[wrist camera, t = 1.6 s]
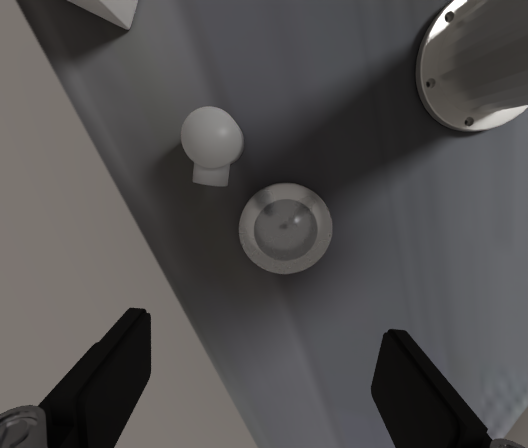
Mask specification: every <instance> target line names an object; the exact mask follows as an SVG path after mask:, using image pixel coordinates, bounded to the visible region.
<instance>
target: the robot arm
mask: <svg viewBox="0 0 528 448" xmlns="http://www.w3.org/2000/svg"><path fill="white" fill-rule="evenodd" d="M415 74H416V85H417V89H418V93H419V96H420V99H421V101H422V103H423V105H424V107H425V109H426V110H427V111H428V112H429V114H430V115H431V116H432V117H433V118H434V119H435V120H436V121H438V122H439V123H440V124H442V125H444V126H446V127H448V128H450V129H453V130H458V131H462V132H475V131H482V130H488V129H492V128H495V127H499V126H501V125H503V124H505V123H507V122H509V121H511V120H513V119H514V118H515V117H517V116H518V115H520V114H521V113H523V112H524V111H525V110H526V109H527V108H528V0H452V1H451V2H450V3H449V4H448V5H446V6H445V7H444V8H443V9H442V11H441V12H440V13H439V14H438V15H437V16H436V17H435V18H434V20H433V21H432V23H431V25H430V26H429V28H428V29H427V31H426V33H425V35H424V38H423V40H422V42H421V44H420V48H419V52H418V56H417V61H416V72H415ZM426 84H427V86H426ZM150 374H151V316H150V313H147V312H146V310H145V309H140V308H129V309H128V310H127V311H126V312H125V313H124V314H123V316H122V317H121V318H120V319H119V320H118V321H117V322H116V323H115V325H114V326H113V327H112V328H111V329H110V330H109V331H108V332H107V333H106V335H105V336H104V337H103V338H102V339H101V340H100V341H99V342H97V343H95V344H94V345H93V346H92V347H91V348H90V349H89V350H88V351H87V352H86V353H85V354H84V356H83V357H82V358H81V359H80V360H79V361H78V362H77V363H76V364H75V366H74V367H73V368H72V369H71V370H70V371H69V372H68V373H67V374H66V375H65V377H64V378H63V379H62V380H61V381H60V382H59V383H58V384H57V385H56V386H55V388H54V389H53V390H52V391H51V392H50V393H49V394H48V395H47V397H45V399H44V400H43V401H42V402H41V403H40V404H39V405H38V406H33V405H28V406H20V407H17V408H13V409H10V410H8V411H6V412H4V413H2V414H0V448H114V447H115V445H116V443H117V441H118V439H119V437H120V435H121V433H122V431H123V429H124V427H125V425H126V423H127V421H128V419H129V418H130V415H131V413H132V412H133V409H134V408H135V406H136V404H137V402H138V400H139V398H140V396H141V394H142V392H143V390H144V388H145V386H146V384H147V382H148V380H149V378H150ZM371 394H372V397H373V400H374V402H375V404H376V406H377V408H378V410H379V413H380V415H381V417H382V419H383V421H384V423H385V426H386V428H387V430H388V432H389V434H390V436H391V439H392V441H393V443H394V445H395V447H396V448H525V447H523V446H522V445H520V444H517V443H515V442H513V441H510V440H506V439H494V440H492V439H491V438H490V437H489V435H488V434H487V430H488V429H487V427H486V426H485V425H484V424H483V423H482V421H481V420H480V419H479V418H478V417H477V415H476V414H475V413H474V412H473V411H472V409H471V408H470V407H469V406H468V405H467V403H466V402H465V401H464V400H463V399H462V397H461V396H460V395H459V394H458V393H457V391H456V390H455V389H454V388H453V387H452V385H451V384H450V383H449V382H448V381H447V379H446V378H445V377H444V376H443V375H442V373H441V372H440V371H439V370H438V369H437V367H436V366H435V365H434V364H433V363H432V361H431V360H430V359H429V358H428V357H427V355H426V354H425V353H424V352H423V351H422V349H421V348H420V347H419V346H418V345H417V343H416V342H415V341H414V340H413V339H412V337H411V336H410V335H409V334H408V333H407V332H406V331H405V330H396V329H389V330H388V332H387V333H384V335H383V339H382V343H381V347H380V351H379V356H378V360H377V364H376V368H375V372H374V377H373V381H372V385H371Z"/></svg>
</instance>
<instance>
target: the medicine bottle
mask: <svg viewBox="0 0 528 448" xmlns="http://www.w3.org/2000/svg"><path fill="white" fill-rule="evenodd" d="M67 1H69V2H71V3H73V4H75V5H77V6H79V7H82V8H84V9H86V10H88V11H90V12H92V13H94V14H96V15H98V16H100V17H102V18H104V19H106V20H108V21H110V22H112V23H114V24H116V25H118V26H120V27H122V28H124V29H126V30H129V29H130V28H131V24H132V21H133V17H134V14H135V11H136V7H137V4H138V0H67Z"/></svg>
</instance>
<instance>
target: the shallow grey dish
mask: <svg viewBox="0 0 528 448" xmlns="http://www.w3.org/2000/svg"><path fill="white" fill-rule="evenodd" d="M239 237H240V242H241V245H242V247H243V249H244V251H245V253H246V254H247V256H248V257H249V258H250V259H251V260H252V261H253V262H254V263H255V264H256V265H258V266H259V267H261V268H262V269H265V270H267V271H270V272H273V273H278V274H291V273H296V272H300V271H303V270H305V269H307V268H309V267H311V266H312V265H313V264H315V263H316V262H317V261H318V260H319V259H320V258H321V257H322V256H323V255H324V253H325V252H326V250H327V248H328V246H329V244H330V241H331V237H332V219H331V215H330V212H329V210H328V208H327V206H326V204H325V203H324V201H323V200H322V199H321V198H320V197H319V196H318V195H317V194H316V193H314V192H313V191H312V190H310V189H308V188H306V187H305V186H302V185H299V184H296V183H289V182H281V183H275V184H271V185H268V186H266V187H264V188H262V189H261V190H259V191H258V192H256V193H255V194H254V195H253V196H252V197H251V198H250V199H249V201H248V202H247V204H246V205H245V207H244V209H243V212H242V215H241V218H240V222H239Z"/></svg>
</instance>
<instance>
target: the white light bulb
mask: <svg viewBox="0 0 528 448" xmlns="http://www.w3.org/2000/svg"><path fill="white" fill-rule="evenodd" d="M181 142H182V146H183V148H184V151H185V153H186V154H187V155H188V157H189V158H190V159H191V160H192V161H193V162H194V169H193V182H195V183H198V184H203V185H210V186H222V187H224V186H228V178H229V170H230V164H233V163H234V162H236V161H237V160H238V159H239V158H240V156H241V155H242V153H243V150H244V143H245V142H244V136H243V133H242V131H241V129H240V128H239V126H238V125H237V124H236V122H235V121H234V120H233V118H232V117H231V116H230V115H229V114H228V113H227V112H225V111H224V110H222V109H219V108H216V107H210V106H208V107H201V108H198V109H196V110H194V111H193V112H192V113H191V114H190V115H188V117H187V118H186V120H185V121H184V123H183V126H182V129H181Z"/></svg>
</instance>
